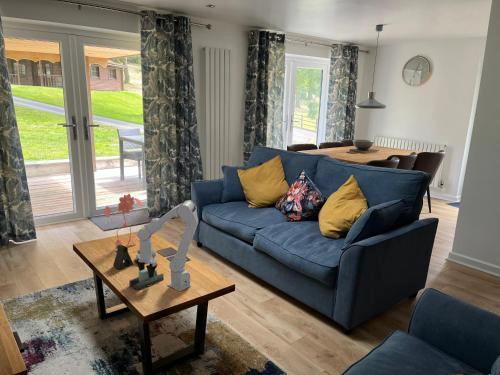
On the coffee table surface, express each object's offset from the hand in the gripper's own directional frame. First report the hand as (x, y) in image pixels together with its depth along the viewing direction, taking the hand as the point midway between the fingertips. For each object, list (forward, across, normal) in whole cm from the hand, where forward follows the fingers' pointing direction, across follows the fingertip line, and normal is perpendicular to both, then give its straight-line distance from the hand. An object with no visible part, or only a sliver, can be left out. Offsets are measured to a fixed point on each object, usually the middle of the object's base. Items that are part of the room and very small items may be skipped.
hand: (146, 275), depth 192 cm
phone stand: (+4, -26, +3) cm, 27 cm away
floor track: (+4, 0, 0) cm, 4 cm away
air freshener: (+4, -25, +18) cm, 31 cm away
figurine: (+4, -45, +19) cm, 49 cm away
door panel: (+3, 0, 0) cm, 3 cm away
